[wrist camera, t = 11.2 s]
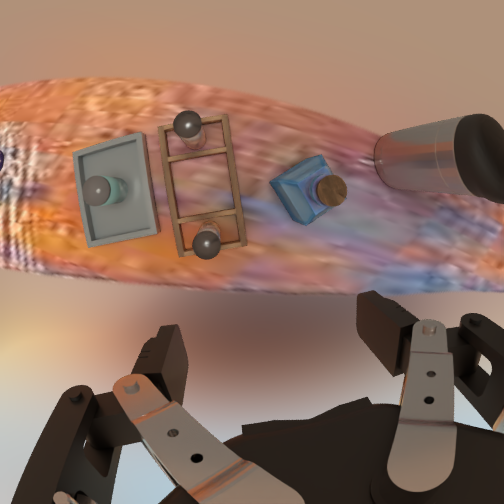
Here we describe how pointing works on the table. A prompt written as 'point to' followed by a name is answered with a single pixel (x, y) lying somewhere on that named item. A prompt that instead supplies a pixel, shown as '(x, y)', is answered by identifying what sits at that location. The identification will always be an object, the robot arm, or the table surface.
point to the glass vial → (190, 129)
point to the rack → (171, 193)
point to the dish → (137, 200)
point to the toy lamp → (1, 160)
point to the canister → (207, 240)
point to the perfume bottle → (309, 189)
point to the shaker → (104, 190)
